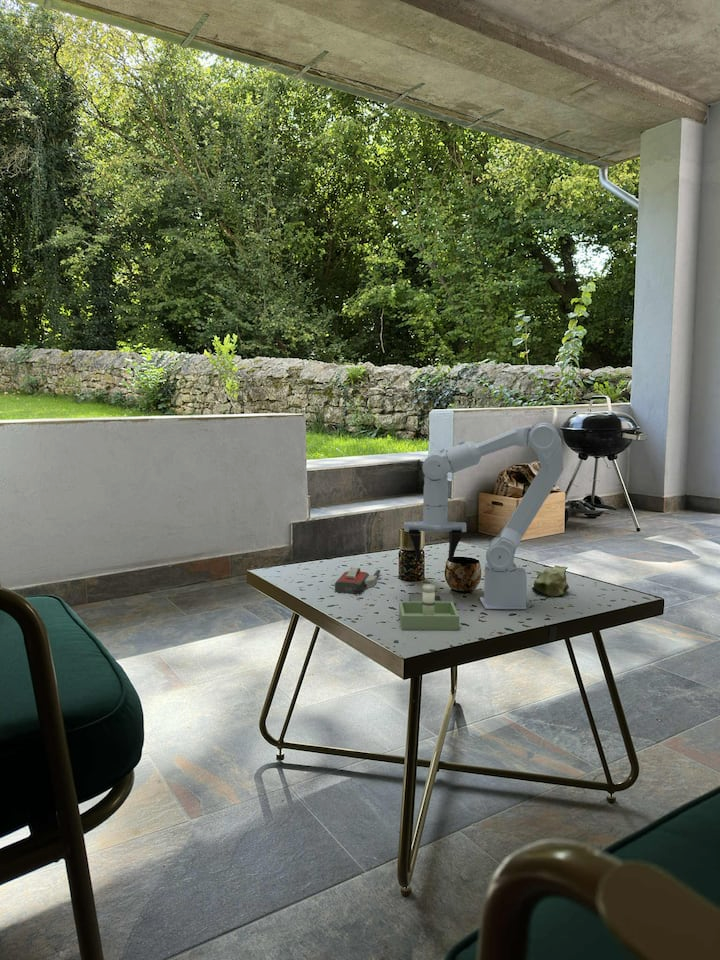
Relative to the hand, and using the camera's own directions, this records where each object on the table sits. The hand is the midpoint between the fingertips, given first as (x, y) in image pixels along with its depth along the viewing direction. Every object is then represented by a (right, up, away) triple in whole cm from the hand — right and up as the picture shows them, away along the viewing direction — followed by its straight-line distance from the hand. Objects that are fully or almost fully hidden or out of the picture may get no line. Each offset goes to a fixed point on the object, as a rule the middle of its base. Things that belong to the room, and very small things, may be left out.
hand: (434, 561), depth 172 cm
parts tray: (-3, -12, -15) cm, 19 cm away
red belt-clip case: (-18, -8, +14) cm, 24 cm away
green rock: (+30, -9, +7) cm, 32 cm away
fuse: (-3, -11, -15) cm, 19 cm away
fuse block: (-1, -10, -4) cm, 11 cm away
